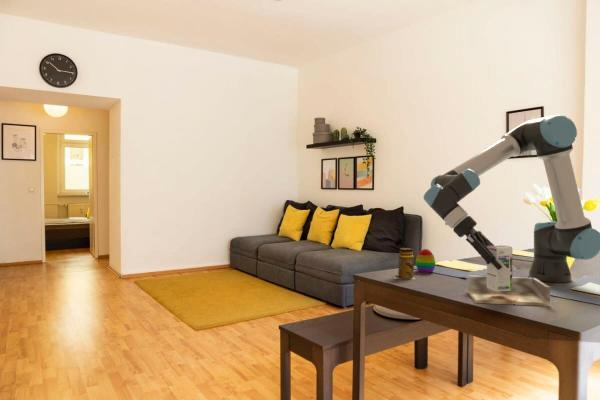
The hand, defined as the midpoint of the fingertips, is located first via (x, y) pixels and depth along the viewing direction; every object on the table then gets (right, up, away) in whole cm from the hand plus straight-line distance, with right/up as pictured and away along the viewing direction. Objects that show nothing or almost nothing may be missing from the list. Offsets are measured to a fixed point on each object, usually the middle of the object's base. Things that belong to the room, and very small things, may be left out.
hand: (510, 274), depth 145 cm
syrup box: (-3, -6, +2) cm, 7 cm away
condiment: (-26, -8, +38) cm, 47 cm away
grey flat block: (0, -9, +3) cm, 9 cm away
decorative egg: (-14, -7, +50) cm, 52 cm away
